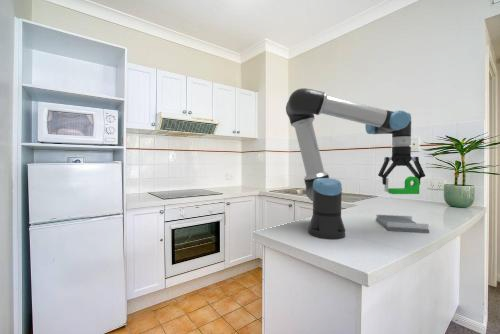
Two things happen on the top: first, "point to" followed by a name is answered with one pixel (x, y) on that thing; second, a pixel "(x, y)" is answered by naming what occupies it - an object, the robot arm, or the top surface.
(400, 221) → the mounting board
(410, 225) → the rail guides
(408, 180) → the mechanical part
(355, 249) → the top surface
